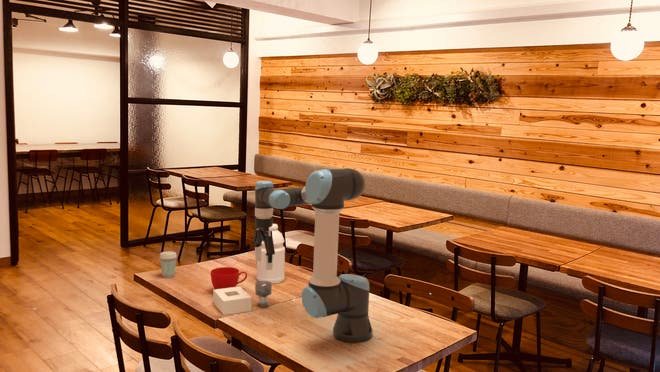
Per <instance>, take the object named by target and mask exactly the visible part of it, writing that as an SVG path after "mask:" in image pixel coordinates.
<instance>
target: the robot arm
mask: <svg viewBox="0 0 660 372" xmlns="http://www.w3.org/2000/svg"><path fill="white" fill-rule="evenodd" d="M364 177H365V176H363V174H362V173H361V172H360V171H359V170H357V169H354V168H349V167H347V168H346V167H345V168H329V169H328V168H325V169H324V168H323V169H318V170H315V171H313V172H311V173H310V175H308V177H307V179H306V182H305V186H300V187H299V186H298V187H290V188H289V187H287V188H275V187H274V183H273V181H272V180H258V181H256V182H255V186H254V192H255V193H254V195H255V196H254V202H255V203H254V205H255V206H254V217H255V218H254V226H255V232H254V235H253V241H252V243H253V245H254V262H255V263H257V262H259V261H261V247H259V246H262V244H261V243H262V241H264V244H265V248H266V252H267V253H266V270H272V267H273V254H275V250H274V244H273V237H272V231H269V227H272V226H273V224H274V221H273V219H274V218H273V215H274V214H273V213H274V211H275V210H274V209H279V210H284V209H286V208H288V207H295V206H307V205H311V208H312V209H313V210H314V212H315V216H314V222H315V223H314V236H313V237H314V241H313V242H314V243H313V266H312V267H313V269H312V270H313V271H312V275H311V276H310V277H309V279H308V285H307V286H305V287H304V288H303V289H302V291H301V303H302V306H303V308H304V310H305V312H306V313H307V315H308V316H310V317H311V318H313V319H319V318H320V319H321V318H326V317H329V316H333V315H337V316H336V319H335V322H334V325H333V328H332V336H333V337H334V338H335V339H336V340H339V341H342V342H344V343H345V342H346V343H363V342H364V343H365V342H367V341H369V340H371V338H372V337H373V327H372V324H371V321H370V317H369V308H370V307H369V306H370V305H369V304H370V303H369V302H370V282H369V280H368V279H367V278H366V277H365V276H362V275H358V274H351V273H349V274H348V273H344V274H343V273H342V274H340V275H339V276H337V274H338V273H337V272H338V254H339V253H338V250H339V232H340V231H339V230H340V229H339V228H340V212H342V211H343V210H344V208H345V202H346V201H352V200H356V199H357V198H359V197H361V196H362V194H363V193H365V192H364V191H365V189H366V180H365V178H364Z"/></svg>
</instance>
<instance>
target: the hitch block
mask: <svg viewBox="0 0 660 372" xmlns="http://www.w3.org/2000/svg"><path fill="white" fill-rule="evenodd" d="M212 293H213V294H212V295H213V297H212V298H213V301H212V304H213V305H214V306H216V308H217V310H219V312H220V314H222V315H223V316H228V315H235V314H242V313H247V312H252V296H251V295H249V293H247V292H246V291H245V290H244V289H243V287H241V286H236V287H231V288H224V289H216V290H215V289H213V290H212Z"/></svg>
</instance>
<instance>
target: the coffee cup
mask: <svg viewBox="0 0 660 372" xmlns="http://www.w3.org/2000/svg"><path fill="white" fill-rule="evenodd" d="M177 257H178V255H177V253H176V252H175V251H162V252H160V253H159V257H158V258H159V261H160V269H161V276H162V278H164V279H171V278H175V275H176V264H177Z"/></svg>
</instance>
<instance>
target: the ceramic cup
mask: <svg viewBox="0 0 660 372" xmlns="http://www.w3.org/2000/svg"><path fill="white" fill-rule="evenodd" d="M242 274H245V275H244V278H243V279H242V280H239V279H240V276H241V275H242ZM247 277H248V274H247V272H246V271H240V270H239V269H238V268H236V267H232V266H231V267H230V266H222V267H216V268H213V269H211V270H210V281H211V285H212V287H213V288H214V290H216V289H224V288H231V287H238V285H240V284H241V283H243V282H244V281H246V279H247Z"/></svg>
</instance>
